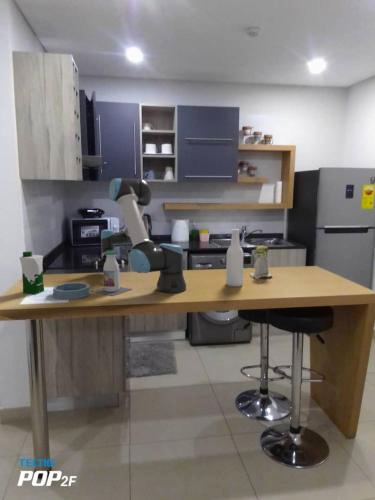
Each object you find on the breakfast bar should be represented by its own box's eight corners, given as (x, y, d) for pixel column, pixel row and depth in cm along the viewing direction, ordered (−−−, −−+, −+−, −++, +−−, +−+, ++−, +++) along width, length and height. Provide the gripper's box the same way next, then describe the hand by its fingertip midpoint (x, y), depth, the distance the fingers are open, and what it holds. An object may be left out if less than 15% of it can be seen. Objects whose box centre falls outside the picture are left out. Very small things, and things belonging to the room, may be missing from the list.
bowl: (98, 292, 177) (98, 285, 176) (70, 301, 162) (69, 293, 161) (73, 287, 186) (72, 280, 185) (44, 296, 171) (44, 288, 170)
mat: (131, 289, 183) (131, 289, 183) (112, 296, 171) (112, 295, 171) (111, 285, 190) (110, 285, 190) (91, 291, 178) (91, 291, 178)
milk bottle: (113, 287, 186) (111, 249, 183) (122, 290, 181) (121, 250, 178) (100, 290, 180) (99, 251, 177) (110, 293, 175) (109, 252, 172)
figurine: (276, 278, 208) (277, 246, 206) (256, 279, 204) (257, 247, 201) (265, 273, 220) (266, 244, 217) (246, 275, 216) (247, 244, 213)
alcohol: (245, 285, 192) (247, 229, 187) (233, 287, 187) (234, 230, 182) (235, 281, 199) (236, 228, 194) (222, 284, 195) (223, 228, 190)
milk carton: (31, 289, 183) (28, 250, 179) (47, 290, 181) (44, 251, 178) (19, 294, 174) (17, 253, 171) (36, 295, 172) (34, 254, 169)
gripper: (130, 263, 212) (134, 271, 191) (86, 265, 205) (85, 274, 185) (130, 251, 210) (134, 257, 190) (86, 252, 204) (85, 259, 184)
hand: (110, 265), depth 188 cm, fingers open, 13 cm apart
